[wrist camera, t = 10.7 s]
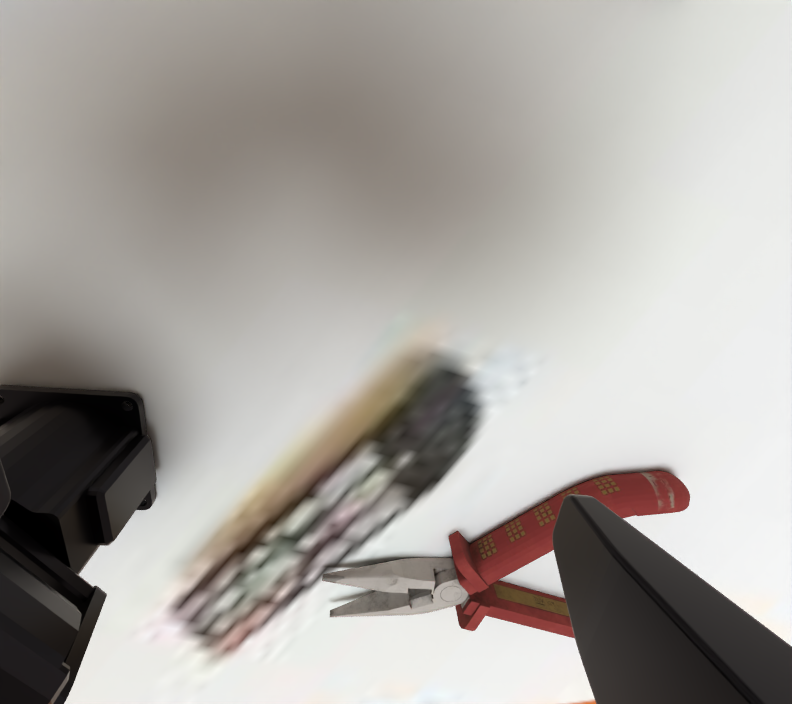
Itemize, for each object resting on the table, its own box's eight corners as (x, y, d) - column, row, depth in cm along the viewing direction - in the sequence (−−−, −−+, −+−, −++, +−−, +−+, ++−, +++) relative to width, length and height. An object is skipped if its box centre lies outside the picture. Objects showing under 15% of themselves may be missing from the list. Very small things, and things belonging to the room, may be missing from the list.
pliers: (310, 502, 24) (303, 539, 21) (672, 457, 24) (705, 489, 22) (342, 641, 28) (340, 685, 26) (648, 602, 28) (674, 641, 26)
